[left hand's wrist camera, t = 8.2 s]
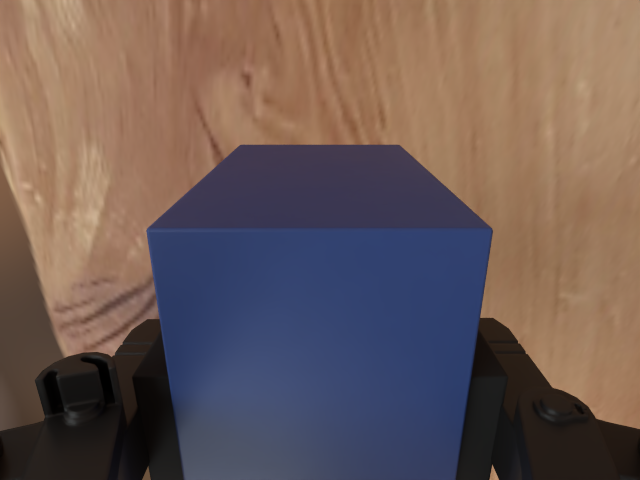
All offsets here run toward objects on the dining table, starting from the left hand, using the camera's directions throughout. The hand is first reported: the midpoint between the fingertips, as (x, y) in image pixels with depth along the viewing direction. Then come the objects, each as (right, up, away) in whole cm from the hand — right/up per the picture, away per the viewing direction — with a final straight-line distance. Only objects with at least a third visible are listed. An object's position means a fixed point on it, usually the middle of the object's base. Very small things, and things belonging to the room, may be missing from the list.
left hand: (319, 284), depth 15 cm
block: (0, +1, +2) cm, 2 cm away
